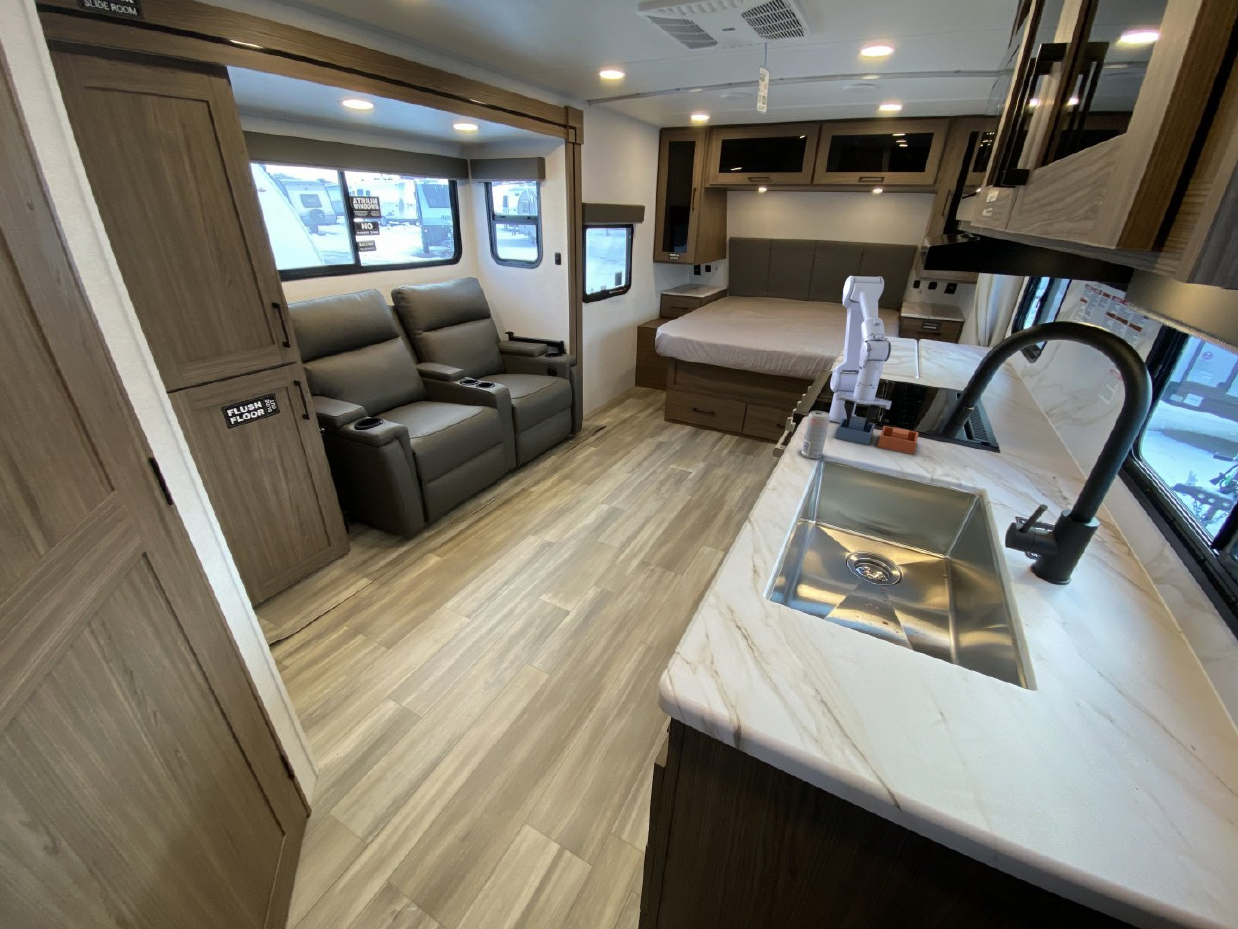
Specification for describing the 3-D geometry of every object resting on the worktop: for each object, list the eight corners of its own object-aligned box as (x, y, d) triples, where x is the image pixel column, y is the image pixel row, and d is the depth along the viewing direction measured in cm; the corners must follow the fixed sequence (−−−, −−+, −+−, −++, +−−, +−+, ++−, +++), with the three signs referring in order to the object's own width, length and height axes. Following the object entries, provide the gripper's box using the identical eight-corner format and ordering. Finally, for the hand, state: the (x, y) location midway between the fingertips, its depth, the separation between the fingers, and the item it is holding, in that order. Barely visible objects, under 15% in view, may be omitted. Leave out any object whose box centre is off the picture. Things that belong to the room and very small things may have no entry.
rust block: (890, 439, 145) (893, 427, 143) (905, 442, 143) (909, 430, 142) (888, 444, 142) (892, 431, 140) (904, 447, 140) (908, 434, 138)
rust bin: (880, 436, 149) (883, 425, 147) (915, 443, 144) (918, 432, 143) (877, 446, 142) (880, 435, 140) (913, 454, 137) (916, 442, 136)
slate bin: (840, 428, 154) (842, 417, 152) (872, 434, 150) (875, 424, 148) (835, 438, 147) (837, 427, 145) (868, 445, 143) (871, 433, 141)
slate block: (849, 427, 150) (852, 415, 148) (863, 430, 148) (866, 418, 146) (847, 432, 147) (850, 419, 145) (861, 434, 145) (864, 422, 143)
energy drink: (818, 451, 138) (827, 410, 133) (823, 459, 133) (833, 418, 128) (799, 450, 138) (807, 409, 133) (803, 458, 134) (812, 416, 128)
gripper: (838, 381, 141) (828, 426, 147) (894, 390, 134) (881, 436, 140) (842, 376, 147) (832, 419, 153) (896, 384, 140) (884, 428, 146)
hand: (856, 427), depth 147 cm, fingers closed on slate block, 4 cm apart
